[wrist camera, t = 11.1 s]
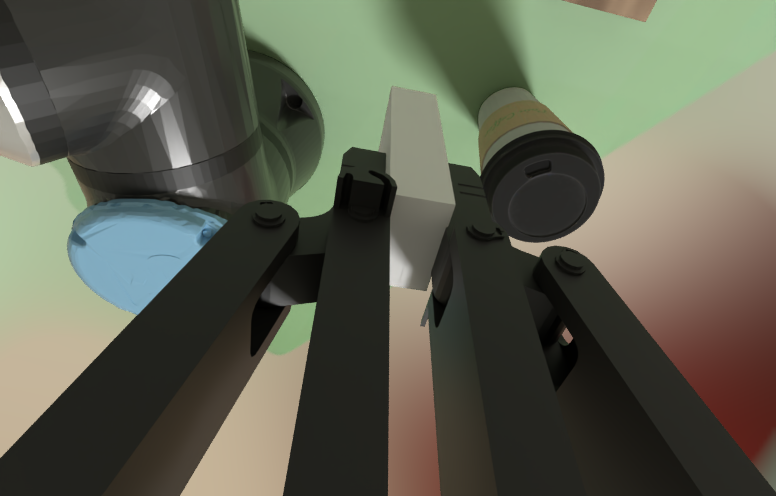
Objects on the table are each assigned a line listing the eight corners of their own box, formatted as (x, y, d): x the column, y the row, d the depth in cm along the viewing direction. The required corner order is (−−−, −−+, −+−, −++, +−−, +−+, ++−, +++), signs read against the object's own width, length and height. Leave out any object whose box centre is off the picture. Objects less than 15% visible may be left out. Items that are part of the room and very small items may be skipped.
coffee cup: (513, 46, 43) (558, 114, 31) (577, 112, 47) (638, 195, 35) (439, 121, 47) (454, 206, 36) (502, 176, 51) (535, 269, 39)
